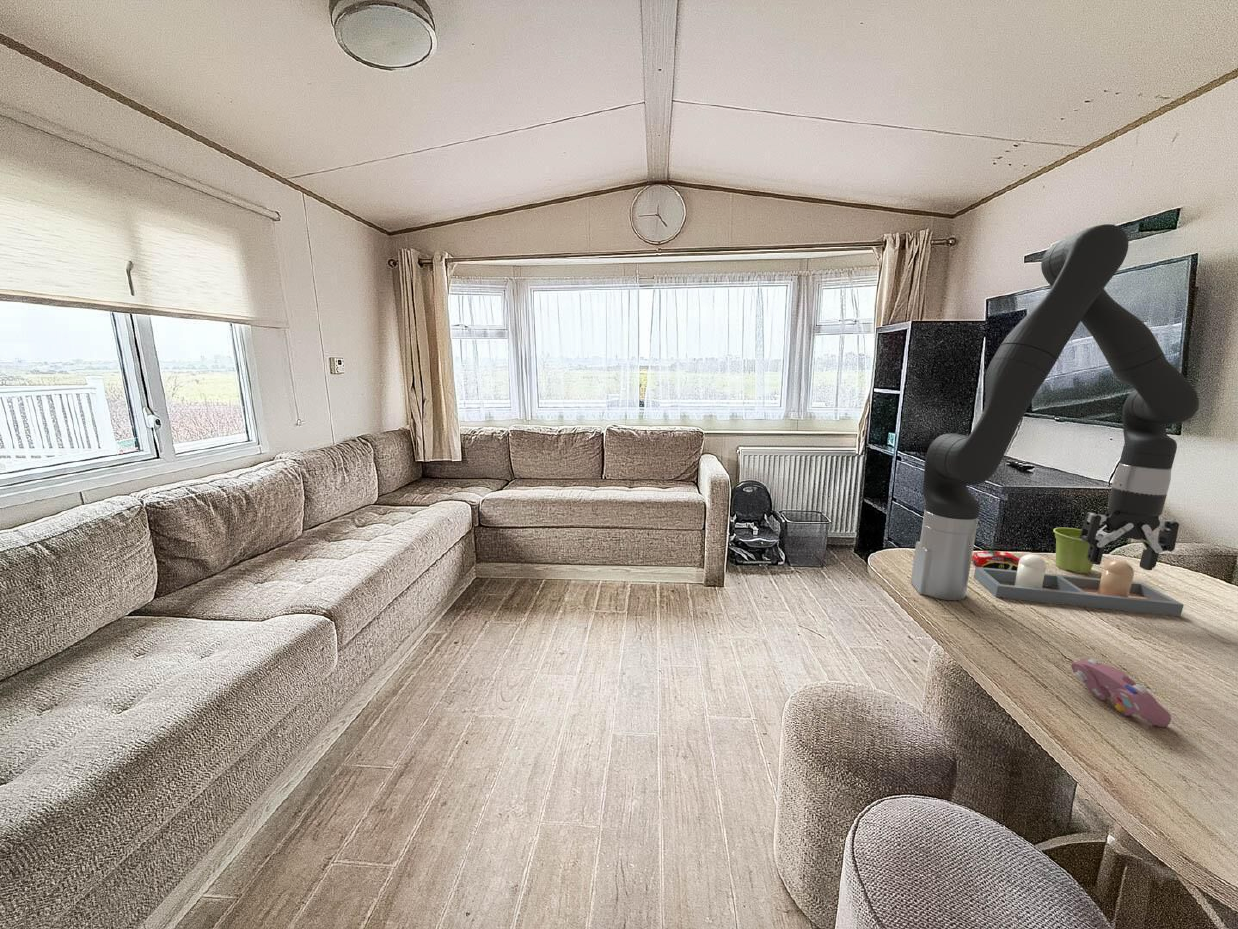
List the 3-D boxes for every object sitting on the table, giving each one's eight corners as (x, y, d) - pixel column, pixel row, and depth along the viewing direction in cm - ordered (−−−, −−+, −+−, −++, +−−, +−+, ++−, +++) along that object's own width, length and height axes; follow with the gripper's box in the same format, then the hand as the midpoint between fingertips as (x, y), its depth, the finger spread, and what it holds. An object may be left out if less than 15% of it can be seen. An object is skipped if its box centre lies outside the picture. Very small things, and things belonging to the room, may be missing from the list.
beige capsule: (1106, 602, 99) (1115, 564, 97) (1091, 592, 103) (1100, 555, 101) (1133, 604, 98) (1142, 566, 96) (1117, 594, 102) (1125, 558, 100)
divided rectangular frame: (995, 597, 101) (997, 585, 101) (973, 577, 111) (975, 566, 110) (1180, 616, 94) (1183, 604, 93) (1140, 593, 103) (1142, 582, 103)
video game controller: (1071, 692, 74) (1061, 656, 72) (1099, 679, 74) (1088, 642, 72) (1146, 742, 64) (1136, 701, 63) (1178, 726, 64) (1168, 685, 63)
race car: (1034, 570, 116) (1037, 554, 115) (1044, 579, 111) (1047, 562, 110) (968, 561, 121) (971, 545, 120) (975, 569, 116) (977, 553, 115)
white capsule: (1020, 594, 102) (1027, 557, 101) (1009, 585, 107) (1016, 550, 105) (1045, 597, 101) (1052, 560, 100) (1033, 588, 106) (1040, 552, 104)
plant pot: (1111, 577, 112) (1120, 541, 110) (1070, 576, 112) (1077, 540, 110) (1074, 561, 121) (1081, 527, 119) (1036, 560, 121) (1043, 527, 119)
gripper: (1108, 489, 94) (1090, 568, 97) (1201, 496, 90) (1178, 578, 93) (1083, 481, 101) (1066, 555, 104) (1168, 487, 97) (1148, 563, 101)
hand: (1119, 566), depth 99 cm, fingers open, 8 cm apart
